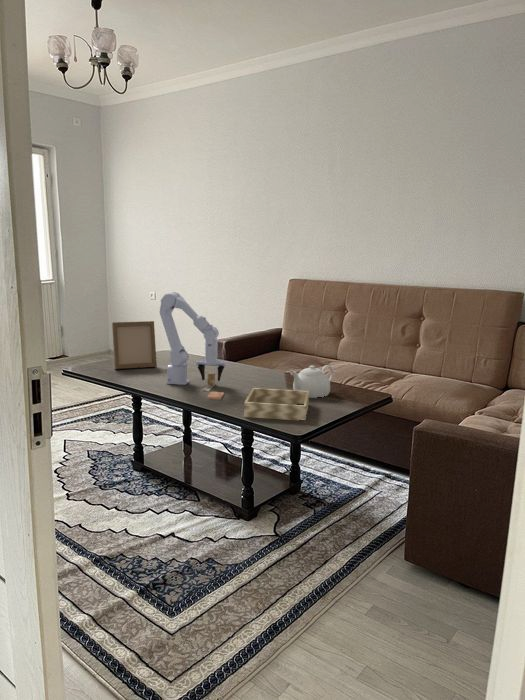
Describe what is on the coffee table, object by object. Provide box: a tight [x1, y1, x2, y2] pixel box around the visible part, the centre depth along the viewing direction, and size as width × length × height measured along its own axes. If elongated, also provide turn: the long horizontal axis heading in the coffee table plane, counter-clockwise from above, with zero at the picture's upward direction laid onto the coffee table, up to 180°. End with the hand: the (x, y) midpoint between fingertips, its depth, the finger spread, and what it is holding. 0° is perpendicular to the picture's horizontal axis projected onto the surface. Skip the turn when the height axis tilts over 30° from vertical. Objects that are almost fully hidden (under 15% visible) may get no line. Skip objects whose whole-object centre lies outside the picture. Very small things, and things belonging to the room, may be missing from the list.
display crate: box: [243, 387, 310, 421], centre depth 225 cm, size 24×22×6 cm
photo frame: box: [111, 320, 158, 370], centre depth 296 cm, size 15×22×25 cm
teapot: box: [290, 364, 335, 399], centre depth 251 cm, size 19×18×14 cm
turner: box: [202, 371, 216, 393], centre depth 257 cm, size 3×13×6 cm, turn 173°
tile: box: [206, 391, 225, 401], centre depth 243 cm, size 6×2×8 cm
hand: (211, 380), depth 262 cm, fingers open, 7 cm apart
